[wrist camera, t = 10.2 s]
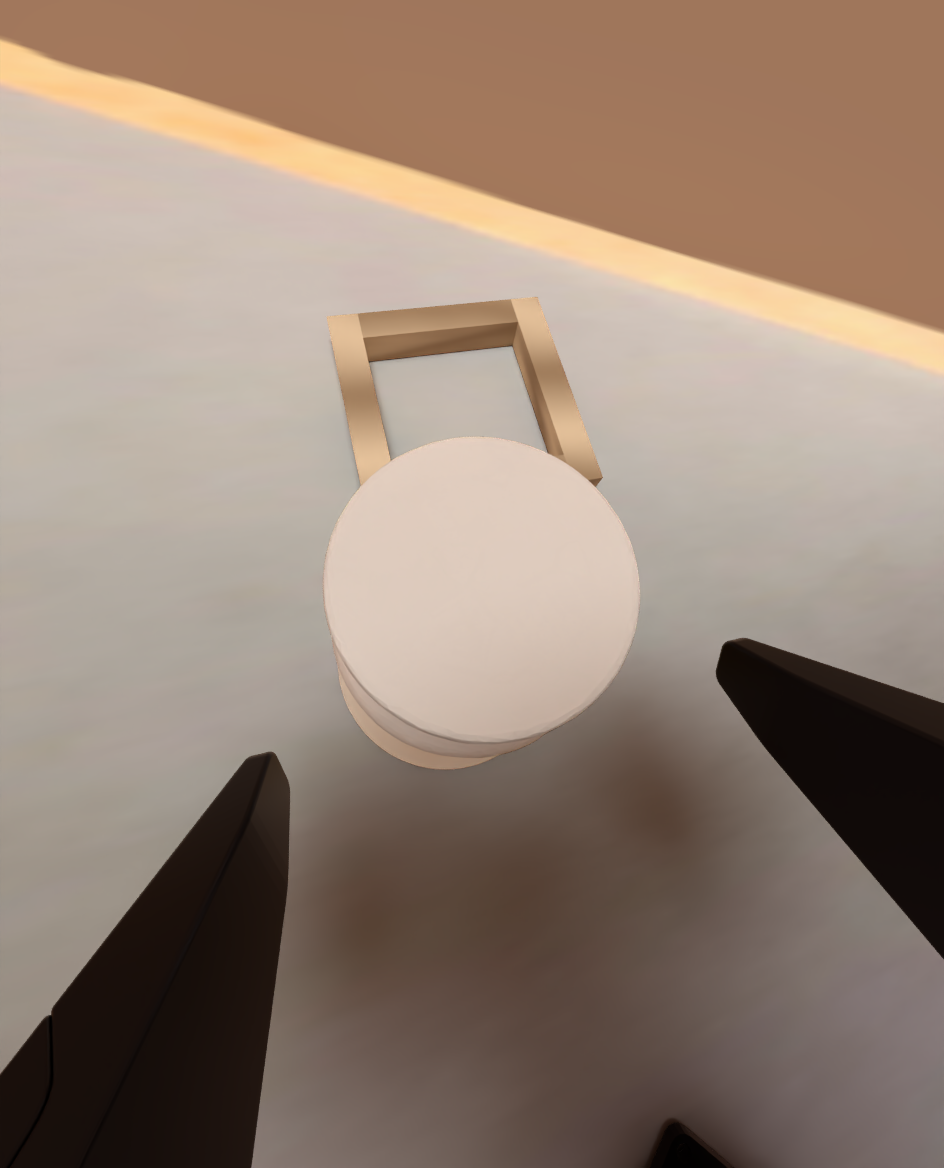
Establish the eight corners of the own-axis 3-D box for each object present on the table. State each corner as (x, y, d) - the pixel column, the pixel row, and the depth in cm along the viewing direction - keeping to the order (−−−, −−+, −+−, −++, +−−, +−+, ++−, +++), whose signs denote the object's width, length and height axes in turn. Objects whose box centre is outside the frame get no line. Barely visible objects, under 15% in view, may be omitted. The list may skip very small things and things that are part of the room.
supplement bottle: (539, 605, 19) (693, 463, 8) (509, 755, 17) (658, 834, 6) (397, 567, 19) (360, 370, 8) (350, 715, 17) (215, 724, 6)
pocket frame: (590, 492, 21) (602, 477, 20) (371, 532, 20) (367, 518, 18) (530, 321, 24) (537, 296, 23) (332, 341, 22) (326, 316, 21)
